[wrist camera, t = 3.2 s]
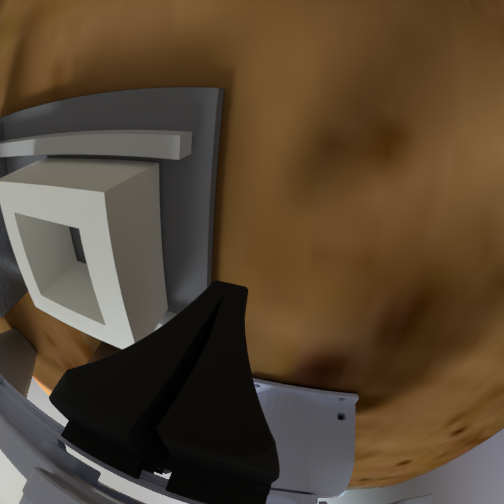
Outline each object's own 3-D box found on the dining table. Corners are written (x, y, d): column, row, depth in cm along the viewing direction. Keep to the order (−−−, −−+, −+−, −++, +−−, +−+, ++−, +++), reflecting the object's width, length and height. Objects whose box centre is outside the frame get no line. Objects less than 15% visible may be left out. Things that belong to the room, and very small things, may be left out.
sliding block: (159, 162, 11) (104, 192, 8) (168, 308, 16) (138, 356, 13) (43, 158, 12) (-5, 180, 9) (67, 274, 17) (35, 306, 14)
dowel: (129, 349, 22) (93, 408, 16) (137, 372, 24) (108, 425, 19) (96, 335, 23) (59, 387, 17) (106, 358, 25) (76, 407, 19)
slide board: (224, 88, 10) (208, 86, 9) (210, 342, 19) (201, 363, 17) (-1, 117, 12) (-19, 124, 11) (31, 275, 21) (19, 286, 19)
